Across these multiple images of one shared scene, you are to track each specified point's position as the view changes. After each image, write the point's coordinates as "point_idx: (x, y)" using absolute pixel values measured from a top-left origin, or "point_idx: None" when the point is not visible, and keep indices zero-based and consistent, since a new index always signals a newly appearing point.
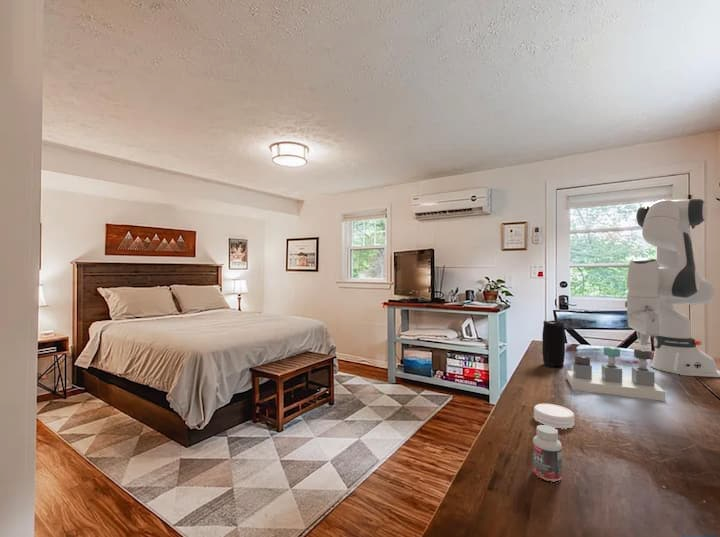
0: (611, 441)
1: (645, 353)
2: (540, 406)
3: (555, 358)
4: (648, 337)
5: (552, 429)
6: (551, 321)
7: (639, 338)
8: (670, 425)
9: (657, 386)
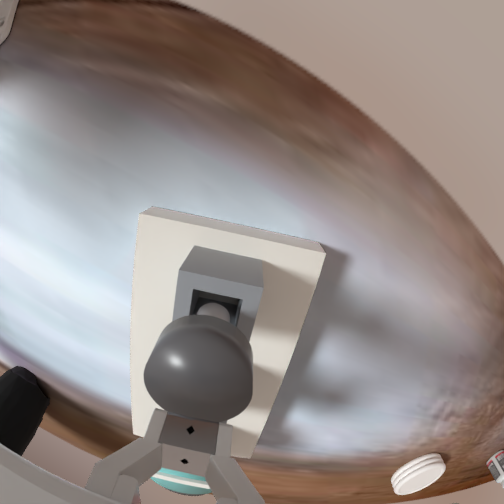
0: (479, 421)
1: (250, 390)
2: (404, 491)
3: (38, 415)
4: (253, 488)
5: None
6: None
7: (157, 467)
8: (470, 330)
9: (256, 244)
